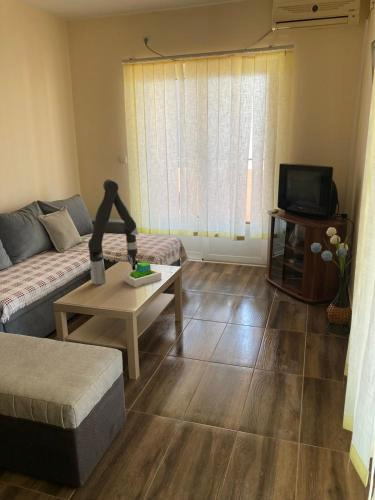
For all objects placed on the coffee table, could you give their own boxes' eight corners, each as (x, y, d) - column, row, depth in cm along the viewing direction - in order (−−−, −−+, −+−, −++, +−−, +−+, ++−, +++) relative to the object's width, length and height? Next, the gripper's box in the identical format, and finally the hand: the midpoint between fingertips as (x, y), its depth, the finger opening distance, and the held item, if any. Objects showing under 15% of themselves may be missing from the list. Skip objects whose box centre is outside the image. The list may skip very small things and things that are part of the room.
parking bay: (135, 287, 275) (134, 280, 274) (124, 281, 286) (124, 275, 285) (161, 279, 288) (161, 272, 286) (150, 274, 299) (149, 268, 298)
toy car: (129, 278, 292) (128, 265, 290) (144, 274, 300) (143, 261, 298) (136, 282, 285) (135, 268, 282) (152, 277, 292) (151, 264, 290)
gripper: (122, 247, 293) (125, 269, 298) (132, 250, 283) (134, 273, 288) (131, 245, 298) (133, 267, 302) (141, 248, 288) (143, 270, 292)
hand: (134, 270), depth 295 cm, fingers closed
